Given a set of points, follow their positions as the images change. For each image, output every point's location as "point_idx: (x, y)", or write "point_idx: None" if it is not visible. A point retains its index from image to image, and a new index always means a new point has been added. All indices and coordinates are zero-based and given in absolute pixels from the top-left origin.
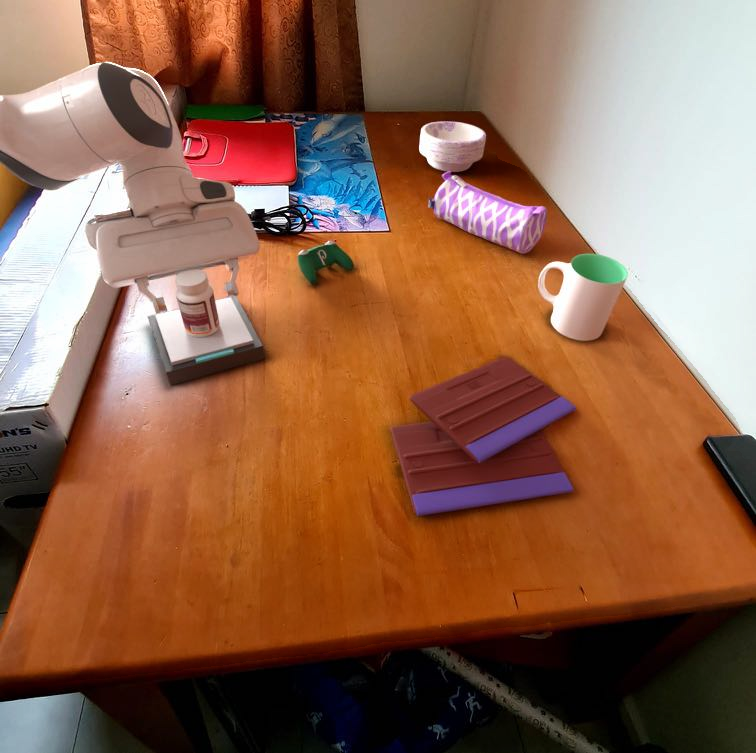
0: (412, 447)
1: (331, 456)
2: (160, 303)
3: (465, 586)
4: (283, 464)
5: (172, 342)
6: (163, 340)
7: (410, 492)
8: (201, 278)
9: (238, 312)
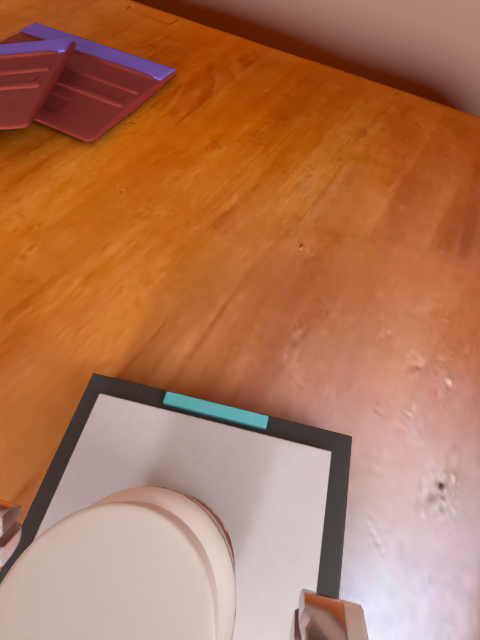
0: (101, 109)
1: (187, 161)
2: (329, 630)
3: (195, 39)
4: (248, 183)
5: (295, 549)
6: None
7: (158, 83)
8: (59, 555)
9: None
